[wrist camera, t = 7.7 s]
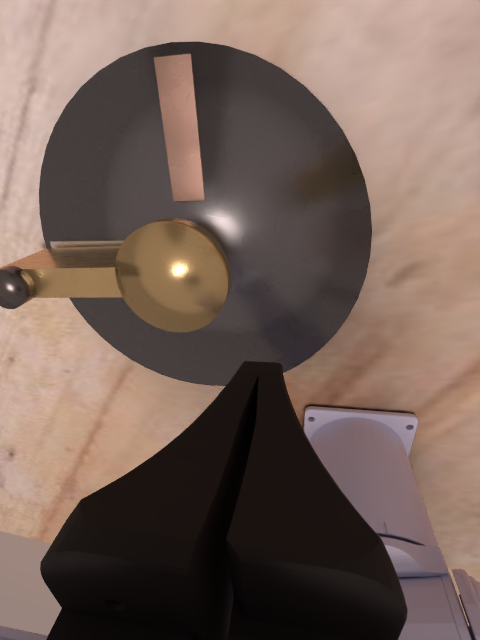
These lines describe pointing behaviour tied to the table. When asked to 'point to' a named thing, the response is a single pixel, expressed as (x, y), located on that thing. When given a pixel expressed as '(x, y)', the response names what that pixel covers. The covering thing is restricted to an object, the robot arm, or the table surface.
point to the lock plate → (214, 201)
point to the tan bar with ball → (133, 275)
